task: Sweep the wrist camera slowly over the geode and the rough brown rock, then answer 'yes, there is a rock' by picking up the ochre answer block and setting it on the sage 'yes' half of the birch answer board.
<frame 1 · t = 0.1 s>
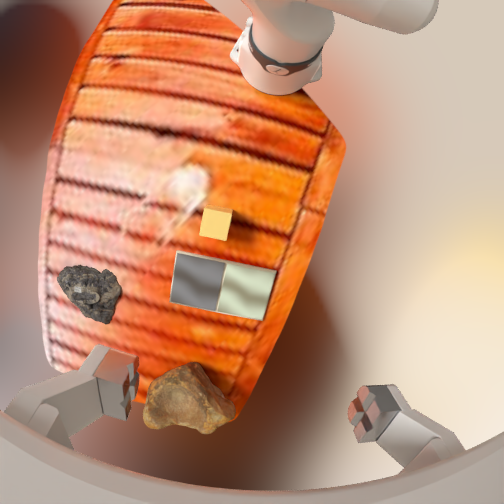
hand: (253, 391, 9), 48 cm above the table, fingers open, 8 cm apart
answer board: (221, 286, 59), on the table
geode: (89, 293, 59), on the table
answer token: (217, 218, 55), on the table
rough brown rock: (189, 377, 67), on the table
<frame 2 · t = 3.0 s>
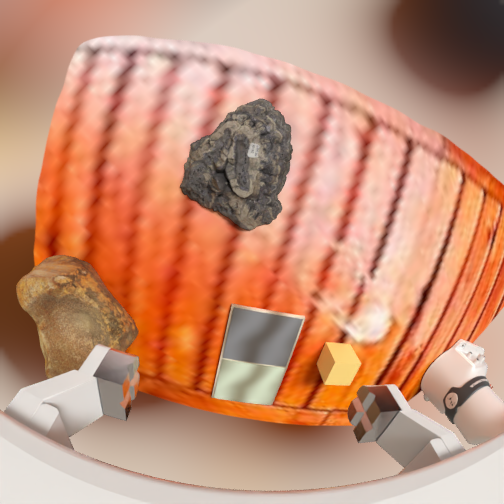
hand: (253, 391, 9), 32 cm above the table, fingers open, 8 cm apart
answer board: (254, 360, 47), on the table
geode: (236, 160, 38), on the table
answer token: (333, 354, 47), on the table
rough brown rock: (102, 309, 43), on the table
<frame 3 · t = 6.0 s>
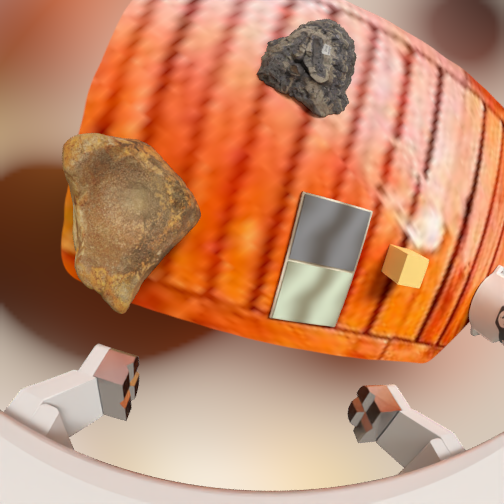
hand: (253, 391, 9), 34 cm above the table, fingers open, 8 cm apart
answer board: (320, 264, 44), on the table
geode: (308, 60, 35), on the table
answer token: (396, 260, 45), on the table
rough brown rock: (150, 207, 41), on the table
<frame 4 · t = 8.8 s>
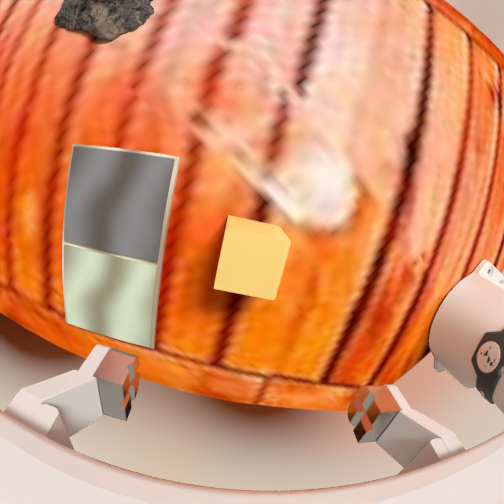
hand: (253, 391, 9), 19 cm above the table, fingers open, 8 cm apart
answer board: (109, 250, 27), on the table
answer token: (248, 245, 27), on the table
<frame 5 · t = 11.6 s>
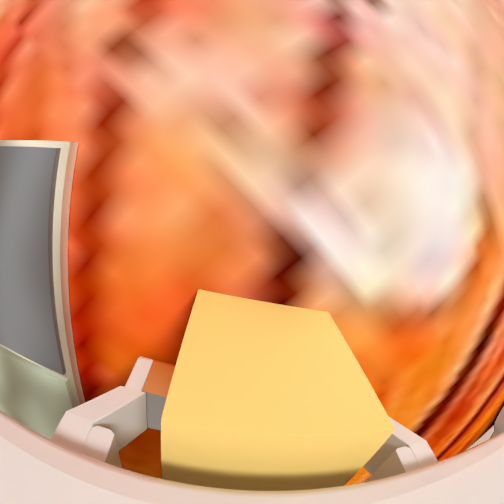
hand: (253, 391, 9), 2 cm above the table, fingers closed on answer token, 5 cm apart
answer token: (251, 355, 11), on the table, touching gripper
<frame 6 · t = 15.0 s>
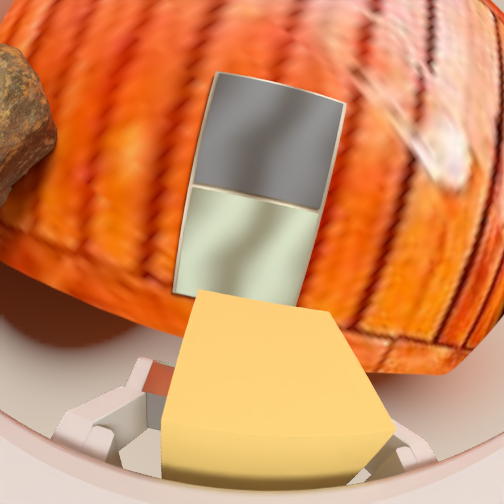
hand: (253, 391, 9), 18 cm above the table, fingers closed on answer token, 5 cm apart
answer board: (256, 196, 24), on the table
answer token: (251, 355, 11), point 16 cm above the table, touching gripper
rough brown rock: (24, 131, 21), on the table
when the fingers open (4 cm above the table, at t = 18.4 s): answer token drops 1 cm, resting on answer board.
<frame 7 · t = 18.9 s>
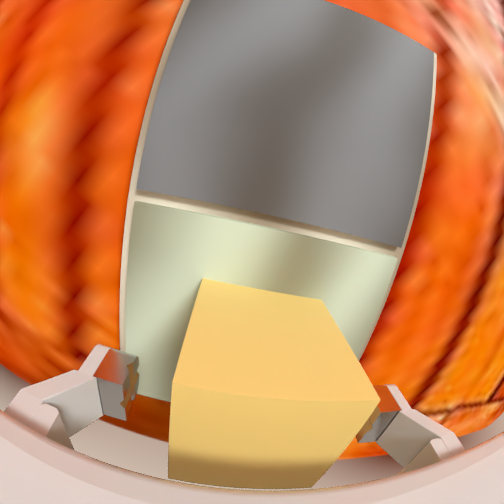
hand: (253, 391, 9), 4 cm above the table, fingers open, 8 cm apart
answer board: (276, 219, 11), on the table
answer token: (250, 340, 12), point 1 cm above the table, touching answer board
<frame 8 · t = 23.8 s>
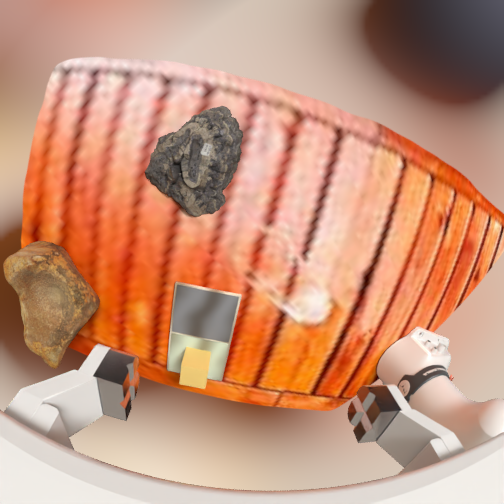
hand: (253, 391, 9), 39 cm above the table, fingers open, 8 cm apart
answer board: (200, 335, 52), on the table
geode: (194, 156, 44), on the table
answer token: (197, 358, 53), point 1 cm above the table, touching answer board
rough brown rock: (74, 287, 49), on the table
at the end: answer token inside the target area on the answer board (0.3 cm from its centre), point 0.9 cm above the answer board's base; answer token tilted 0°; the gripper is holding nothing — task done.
